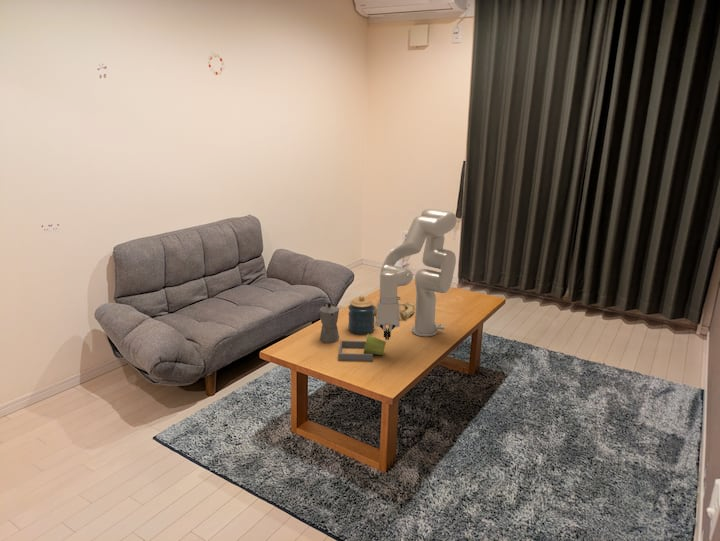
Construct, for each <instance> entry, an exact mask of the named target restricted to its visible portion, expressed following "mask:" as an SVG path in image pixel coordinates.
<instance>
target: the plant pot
mask: <svg viewBox="0 0 720 541" xmlns="http://www.w3.org/2000/svg"><path fill="white" fill-rule="evenodd" d="M366 335H367V336H366V340H365V341H366V344H365V348H363V353H362V354H373V355H379V356H383V355H384V354H385V351H384V350H385V348H386V343H387V341H386V340H382V339H380V338H377V337H375V336H373V335H371V334H370V333H368V334H366Z"/></svg>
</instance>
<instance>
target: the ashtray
mask: <svg viewBox="0 0 720 541" xmlns="http://www.w3.org/2000/svg"><path fill="white" fill-rule="evenodd" d="M398 302H399V322H402V321H407V320H408V319H409V317H410V316H411V315H414V314H415V313H416V310H415V308H416V304H415V303H414V302H410V301H409V302H408V301H407V302H404V301H402V302H401V301H398ZM376 308H377V305H376V306H375V309H374V313H375V315H374V317H376Z"/></svg>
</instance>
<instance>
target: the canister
mask: <svg viewBox="0 0 720 541" xmlns="http://www.w3.org/2000/svg"><path fill="white" fill-rule="evenodd" d="M347 307H348V310H349V311H348V313H347V314H348V326H347V327H348V330H349V332H351V333H352V334H357V335H368V334H371V333H372V332H374V330H375V327H376V326H375V313H374V309H375V307H376V306H375V305H374V302H373V301H372V300H371V299H370V298H367V297H365V296H364V295H360V296H359V297H356V298H353V299H352V300H350V302H349V305H348V306H347Z"/></svg>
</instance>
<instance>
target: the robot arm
mask: <svg viewBox="0 0 720 541" xmlns="http://www.w3.org/2000/svg"><path fill="white" fill-rule="evenodd" d="M420 214H421V215H418V216H416V217H415V218H414V219H413V221H412V222H411V224H410V227H409V229H408V231H407V233H406V236H405V238H404V240H403V241H402V243H401V244H400V245H399V246H396V247H395V248H394V249H393V250H391V252H389V254H387V256H386V257H385V259H384V261H383V264H382V266H381V268H380V273H379V274H380V275H379V300H378V301H377V303H376V306H377V308H376V316H375V322H374V325H375V327H378V328H380V329H381V330H382V331H383V338H384V339H385V340H384V341H386V340H387V341H389V340H390V338H391V337H392V336H391V333H392V330H394V329H395V328H399V327H401V324H400V321H399V302H400V301H401V296H398V287H405V286H408V285H409V284H410V283H411V282H412V280H413V277H414V283H415V284H414V285H415V292H416V293H415V295H416V296H415V313H414V314H415V318H414V319H415V320H414V325H413V326H412V327H411V333H412V334H414V335H415V336H419V337H433V336H435V335H437V334H438V330H440V331H441V330H445V325H442V324H441V323H440V324H439V323H436V307H437V306H436V304H437V297H436V294H435V293H439V294H447V293H448V292H449V291H450V289H451V288H452V287H451V286H452V282H453V278H454V273H455V269H456V264H457V263H456V262H457V257H456V254H455V252H454V251H452V250H450V249H444V244H445V235H446V234H447V233H450V232H451V231H452V230H454V228H455V227H456V226H457V222H458V218H457V215H456V213H454V212H452V211H446V210H440V209H431V208H429V209H428V208H427V209H423V210H422V211H421V213H420ZM424 244H425V245H424ZM423 246H424V249H423V252H422V259H421V260H422V261H421V262H422V263H423V265H424V266H426V267H429V268H434V269H438V270H440V271H437V270H433V269H428V268H427V269H426V268H423V269H419V270H417V272H416V273H415V276H414V275H413V274H414V273H413V272H412V271H411V270H410V269H409V268H406V267H401V266H397V265H396V264H397V263H398V261H401V260H402V259H403V258H407V257H410V256H413V255H417V254H419V253H420V252H421V251H422V248H423ZM387 326H388V328H387Z"/></svg>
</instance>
